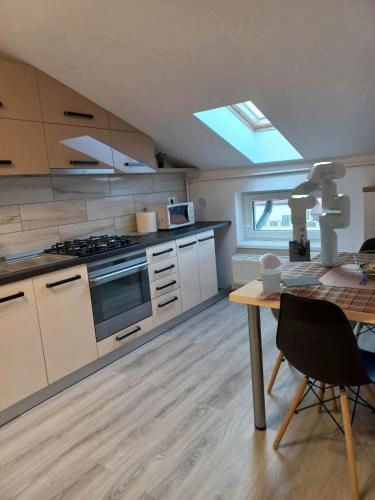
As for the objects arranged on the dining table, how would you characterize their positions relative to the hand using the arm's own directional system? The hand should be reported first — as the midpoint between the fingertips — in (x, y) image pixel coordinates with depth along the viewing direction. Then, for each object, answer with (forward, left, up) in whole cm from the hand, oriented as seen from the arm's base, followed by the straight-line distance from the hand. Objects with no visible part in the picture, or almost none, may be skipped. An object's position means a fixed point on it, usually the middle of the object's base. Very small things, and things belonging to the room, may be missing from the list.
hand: (299, 254), depth 193 cm
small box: (0, 0, -4) cm, 4 cm away
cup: (+18, +10, -16) cm, 26 cm away
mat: (0, 0, -15) cm, 15 cm away
